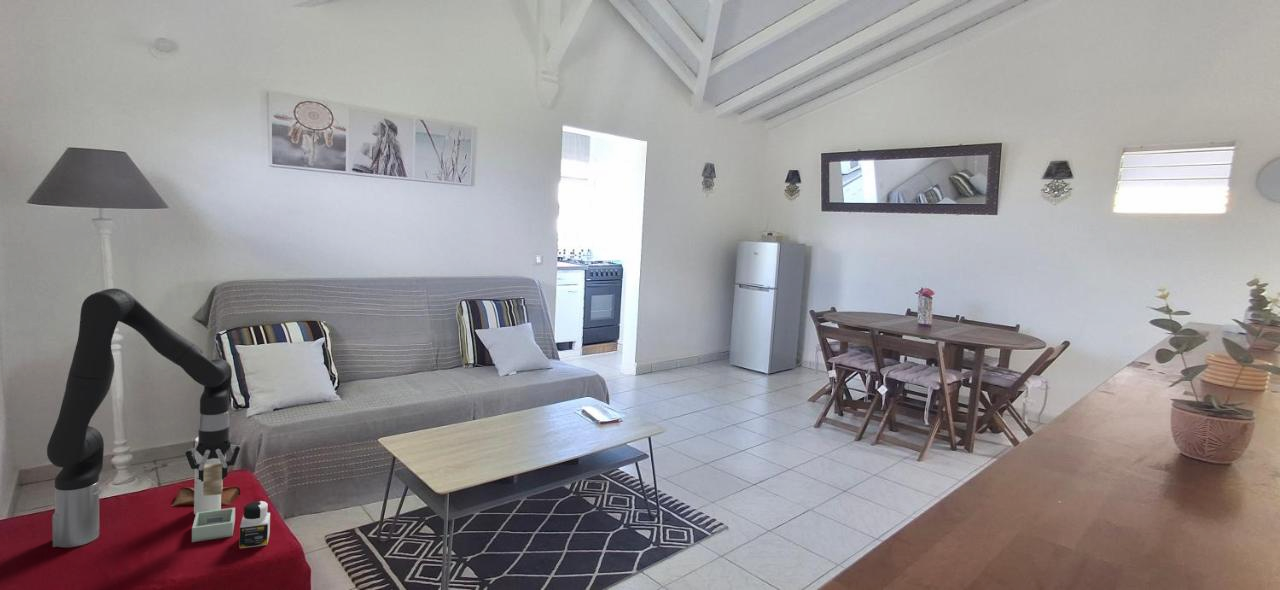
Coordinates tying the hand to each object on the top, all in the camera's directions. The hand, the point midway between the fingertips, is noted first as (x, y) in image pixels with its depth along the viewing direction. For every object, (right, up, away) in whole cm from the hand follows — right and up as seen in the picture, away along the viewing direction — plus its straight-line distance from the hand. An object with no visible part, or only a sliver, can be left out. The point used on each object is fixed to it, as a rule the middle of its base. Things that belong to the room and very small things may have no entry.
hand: (213, 479), depth 179 cm
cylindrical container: (-12, -15, +14) cm, 24 cm away
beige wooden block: (0, -5, 0) cm, 5 cm away
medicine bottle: (+12, -19, 0) cm, 23 cm away
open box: (-2, -17, +3) cm, 18 cm away
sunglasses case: (-17, -14, +20) cm, 30 cm away
